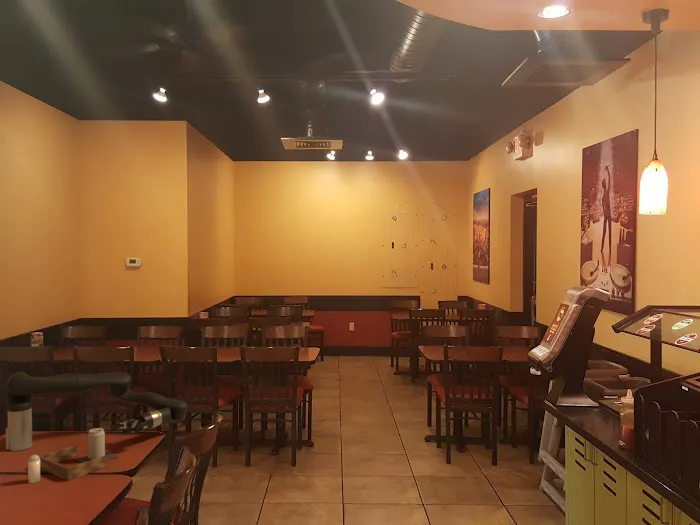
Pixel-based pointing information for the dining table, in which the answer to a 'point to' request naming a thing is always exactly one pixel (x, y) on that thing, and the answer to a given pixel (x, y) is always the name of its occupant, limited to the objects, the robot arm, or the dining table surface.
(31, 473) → the salt shaker
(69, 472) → the condiment rack
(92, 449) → the beverage can
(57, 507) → the dining table surface
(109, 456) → the coaster
